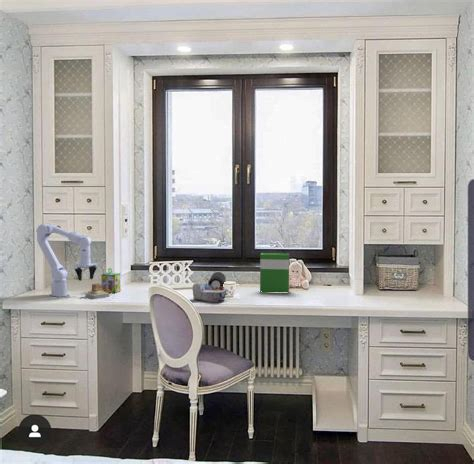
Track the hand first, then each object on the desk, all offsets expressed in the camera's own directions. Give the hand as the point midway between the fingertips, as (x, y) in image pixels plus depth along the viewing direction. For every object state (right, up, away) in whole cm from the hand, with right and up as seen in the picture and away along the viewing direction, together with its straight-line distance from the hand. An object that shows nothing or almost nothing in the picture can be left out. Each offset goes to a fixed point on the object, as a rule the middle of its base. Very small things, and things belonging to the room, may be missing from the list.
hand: (85, 279), depth 347 cm
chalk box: (+12, -9, +16) cm, 22 cm away
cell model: (+74, -12, -9) cm, 76 cm away
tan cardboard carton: (+7, -8, -1) cm, 11 cm away
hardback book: (+114, -10, +20) cm, 116 cm away
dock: (+7, -10, -1) cm, 12 cm away
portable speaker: (+77, -9, +27) cm, 82 cm away
